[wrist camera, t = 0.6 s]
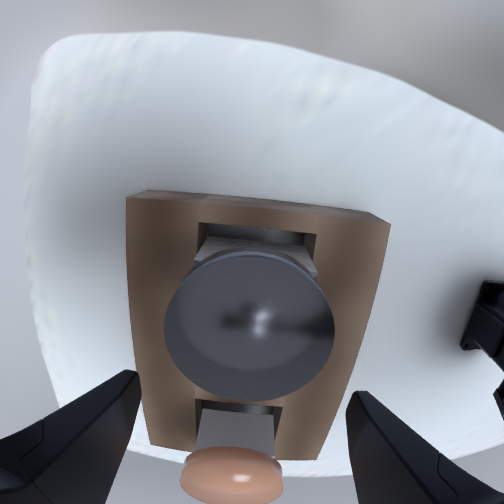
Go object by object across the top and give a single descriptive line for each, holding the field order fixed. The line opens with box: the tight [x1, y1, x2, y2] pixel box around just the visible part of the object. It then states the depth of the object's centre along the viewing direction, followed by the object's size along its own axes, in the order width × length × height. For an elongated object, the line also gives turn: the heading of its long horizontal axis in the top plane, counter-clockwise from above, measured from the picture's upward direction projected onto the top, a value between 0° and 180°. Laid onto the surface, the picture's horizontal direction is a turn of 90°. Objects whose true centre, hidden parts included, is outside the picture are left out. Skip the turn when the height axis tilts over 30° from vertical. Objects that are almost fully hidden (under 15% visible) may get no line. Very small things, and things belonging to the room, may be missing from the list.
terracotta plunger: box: [180, 408, 283, 504], centre depth 17 cm, size 6×6×5 cm
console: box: [126, 190, 391, 460], centre depth 20 cm, size 14×20×4 cm
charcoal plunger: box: [164, 236, 335, 402], centre depth 13 cm, size 6×6×5 cm
